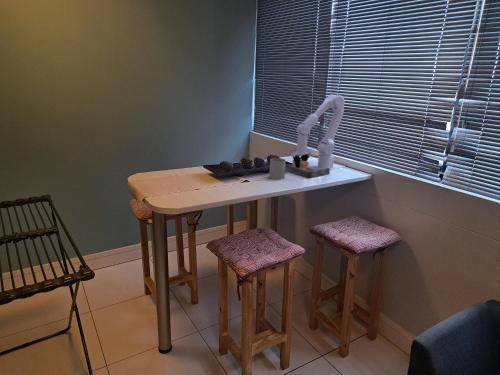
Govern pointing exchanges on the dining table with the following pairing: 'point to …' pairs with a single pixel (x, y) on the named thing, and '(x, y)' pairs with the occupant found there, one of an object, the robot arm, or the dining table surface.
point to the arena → (307, 171)
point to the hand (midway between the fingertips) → (300, 167)
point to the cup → (277, 168)
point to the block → (302, 164)
